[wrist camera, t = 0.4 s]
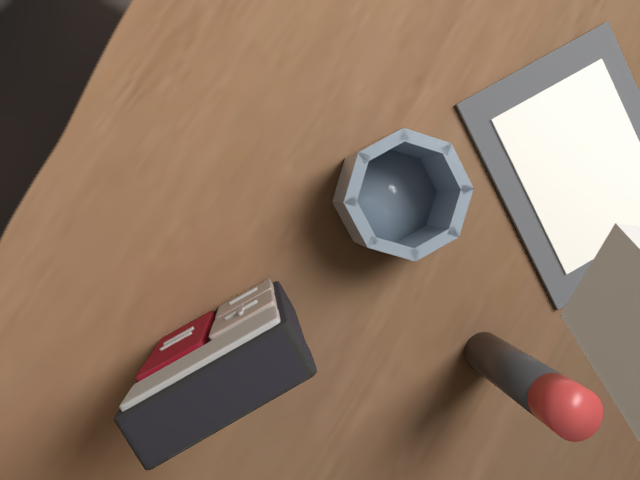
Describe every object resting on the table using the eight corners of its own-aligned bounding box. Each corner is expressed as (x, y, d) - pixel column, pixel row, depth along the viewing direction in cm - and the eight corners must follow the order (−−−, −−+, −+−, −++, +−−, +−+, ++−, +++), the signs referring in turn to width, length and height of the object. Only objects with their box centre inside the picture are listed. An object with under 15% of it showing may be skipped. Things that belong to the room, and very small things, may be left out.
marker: (508, 358, 48) (611, 423, 34) (475, 377, 47) (565, 451, 33) (491, 325, 47) (589, 378, 33) (458, 344, 47) (542, 405, 33)
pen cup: (459, 217, 46) (489, 219, 40) (367, 268, 45) (384, 279, 39) (411, 121, 45) (434, 109, 39) (316, 173, 44) (325, 169, 38)
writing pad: (696, 227, 49) (701, 227, 48) (555, 309, 48) (559, 310, 47) (605, 22, 46) (609, 20, 46) (455, 104, 45) (457, 103, 45)
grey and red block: (273, 271, 45) (281, 308, 30) (298, 316, 45) (319, 374, 30) (155, 337, 44) (102, 409, 29) (182, 382, 44) (144, 474, 30)
